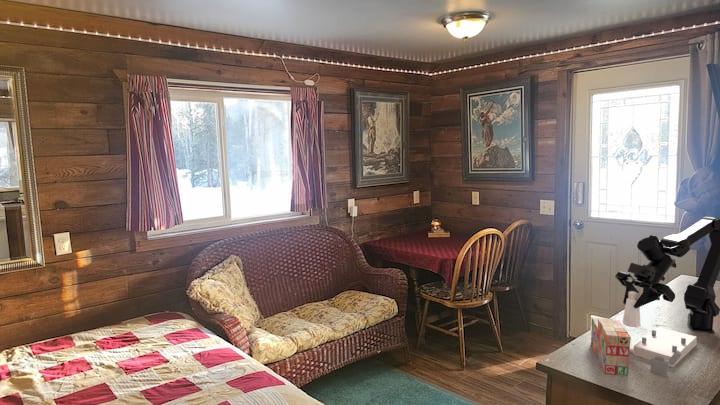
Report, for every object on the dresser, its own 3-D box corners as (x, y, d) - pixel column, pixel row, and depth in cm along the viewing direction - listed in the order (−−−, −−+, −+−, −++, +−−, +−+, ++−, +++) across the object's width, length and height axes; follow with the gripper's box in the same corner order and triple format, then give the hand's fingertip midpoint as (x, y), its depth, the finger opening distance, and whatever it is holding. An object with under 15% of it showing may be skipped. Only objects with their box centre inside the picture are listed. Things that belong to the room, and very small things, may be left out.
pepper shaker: (625, 319, 162) (626, 288, 161) (643, 324, 158) (644, 291, 157) (619, 324, 158) (621, 292, 157) (638, 328, 154) (639, 296, 153)
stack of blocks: (590, 343, 160) (592, 308, 158) (610, 345, 158) (612, 309, 156) (604, 374, 139) (606, 334, 137) (628, 377, 137) (631, 336, 136)
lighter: (650, 372, 139) (652, 346, 138) (651, 370, 141) (652, 344, 140) (679, 379, 135) (681, 353, 134) (679, 377, 136) (682, 350, 135)
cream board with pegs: (658, 335, 165) (659, 322, 164) (695, 345, 156) (697, 332, 156) (633, 354, 151) (634, 341, 150) (673, 367, 142) (674, 352, 142)
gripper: (620, 248, 165) (594, 283, 163) (671, 261, 148) (642, 300, 146) (636, 267, 169) (610, 302, 167) (687, 282, 151) (659, 321, 149)
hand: (629, 305), depth 157 cm, fingers closed on pepper shaker, 4 cm apart
